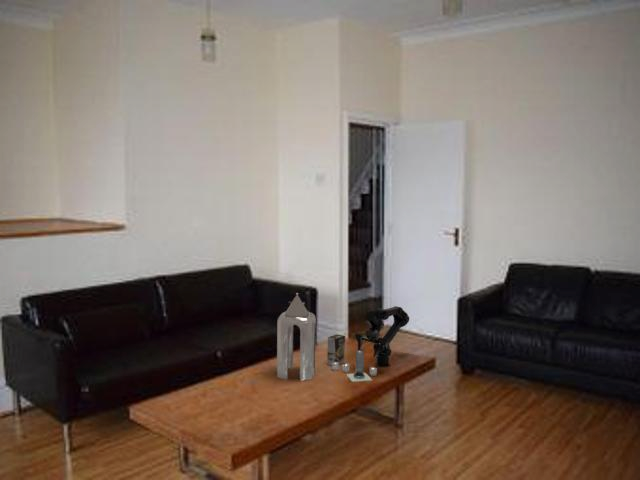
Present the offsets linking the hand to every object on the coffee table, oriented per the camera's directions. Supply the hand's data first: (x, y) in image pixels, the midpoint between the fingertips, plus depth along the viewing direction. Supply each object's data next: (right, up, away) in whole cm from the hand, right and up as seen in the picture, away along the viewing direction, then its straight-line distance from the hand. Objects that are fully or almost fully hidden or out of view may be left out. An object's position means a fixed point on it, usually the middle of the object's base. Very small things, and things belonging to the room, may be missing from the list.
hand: (365, 354), depth 318 cm
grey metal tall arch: (-38, -10, -2) cm, 40 cm away
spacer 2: (-11, -10, +4) cm, 15 cm away
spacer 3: (+4, -11, -2) cm, 12 cm away
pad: (-4, -11, -7) cm, 14 cm away
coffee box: (-16, -9, +17) cm, 25 cm away
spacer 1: (-17, -10, +7) cm, 20 cm away
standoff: (-4, -11, -7) cm, 13 cm away
